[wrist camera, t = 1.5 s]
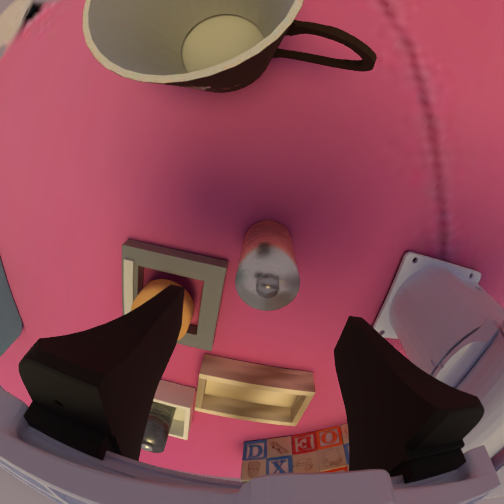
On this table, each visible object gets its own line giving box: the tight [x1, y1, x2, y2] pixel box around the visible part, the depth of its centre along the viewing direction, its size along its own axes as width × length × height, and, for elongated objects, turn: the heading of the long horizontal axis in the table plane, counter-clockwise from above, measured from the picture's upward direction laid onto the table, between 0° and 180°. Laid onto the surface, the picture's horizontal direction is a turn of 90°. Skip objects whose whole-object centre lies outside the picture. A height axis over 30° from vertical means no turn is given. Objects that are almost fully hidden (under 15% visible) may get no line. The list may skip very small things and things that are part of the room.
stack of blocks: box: [241, 423, 349, 482], centre depth 25 cm, size 21×6×12 cm, turn 108°
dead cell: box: [141, 401, 176, 453], centre depth 25 cm, size 3×3×6 cm
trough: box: [195, 354, 315, 426], centre depth 25 cm, size 10×6×3 cm, turn 78°
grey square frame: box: [122, 239, 228, 351], centre depth 22 cm, size 8×8×2 cm
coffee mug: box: [83, 0, 377, 92], centre depth 11 cm, size 12×9×10 cm
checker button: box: [131, 279, 194, 341], centre depth 21 cm, size 4×4×2 cm
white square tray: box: [153, 380, 196, 440], centre depth 27 cm, size 7×7×3 cm
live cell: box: [235, 220, 300, 311], centre depth 18 cm, size 3×3×6 cm
